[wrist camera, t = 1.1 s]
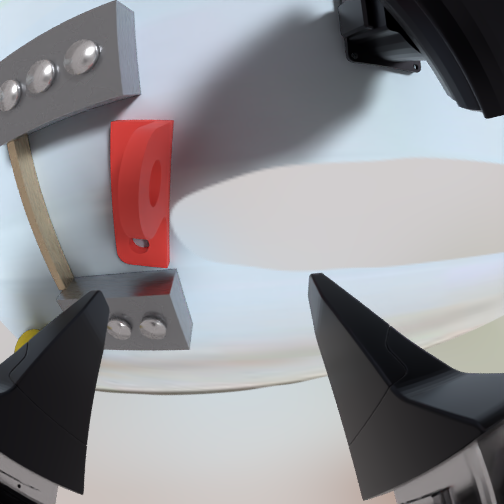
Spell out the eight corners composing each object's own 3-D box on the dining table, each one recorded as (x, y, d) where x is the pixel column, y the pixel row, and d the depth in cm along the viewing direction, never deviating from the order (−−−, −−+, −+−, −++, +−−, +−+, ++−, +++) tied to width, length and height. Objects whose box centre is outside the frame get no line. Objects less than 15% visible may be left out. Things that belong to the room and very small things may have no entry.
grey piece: (133, 11, 13) (112, -3, 9) (192, 323, 28) (188, 354, 25) (12, 69, 13) (-18, 72, 9) (92, 325, 28) (81, 352, 24)
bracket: (116, 120, 17) (59, 139, 11) (174, 120, 18) (138, 137, 11) (122, 256, 23) (90, 317, 17) (169, 260, 24) (149, 326, 17)
